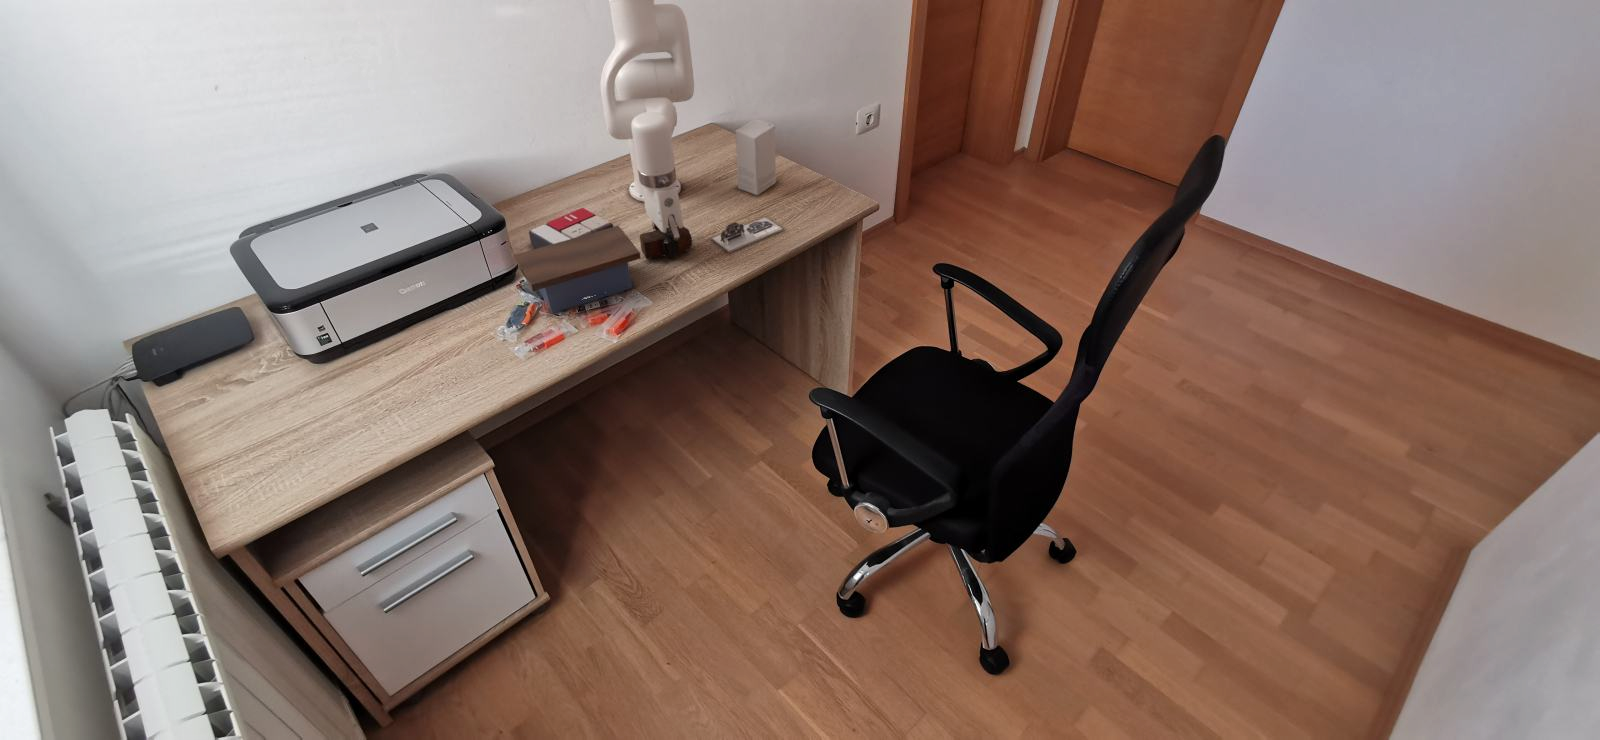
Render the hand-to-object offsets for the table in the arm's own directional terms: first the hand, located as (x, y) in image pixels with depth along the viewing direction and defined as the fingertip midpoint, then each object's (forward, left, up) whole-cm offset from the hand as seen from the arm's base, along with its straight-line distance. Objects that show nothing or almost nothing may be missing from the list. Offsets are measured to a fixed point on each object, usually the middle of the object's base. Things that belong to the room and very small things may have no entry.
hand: (667, 249), depth 165 cm
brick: (0, 0, -1) cm, 1 cm away
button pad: (-15, -16, -1) cm, 22 cm away
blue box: (+4, -20, -1) cm, 21 cm away
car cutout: (+3, +19, -1) cm, 19 cm away
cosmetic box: (-16, +32, -1) cm, 36 cm away
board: (+4, -20, +6) cm, 21 cm away
